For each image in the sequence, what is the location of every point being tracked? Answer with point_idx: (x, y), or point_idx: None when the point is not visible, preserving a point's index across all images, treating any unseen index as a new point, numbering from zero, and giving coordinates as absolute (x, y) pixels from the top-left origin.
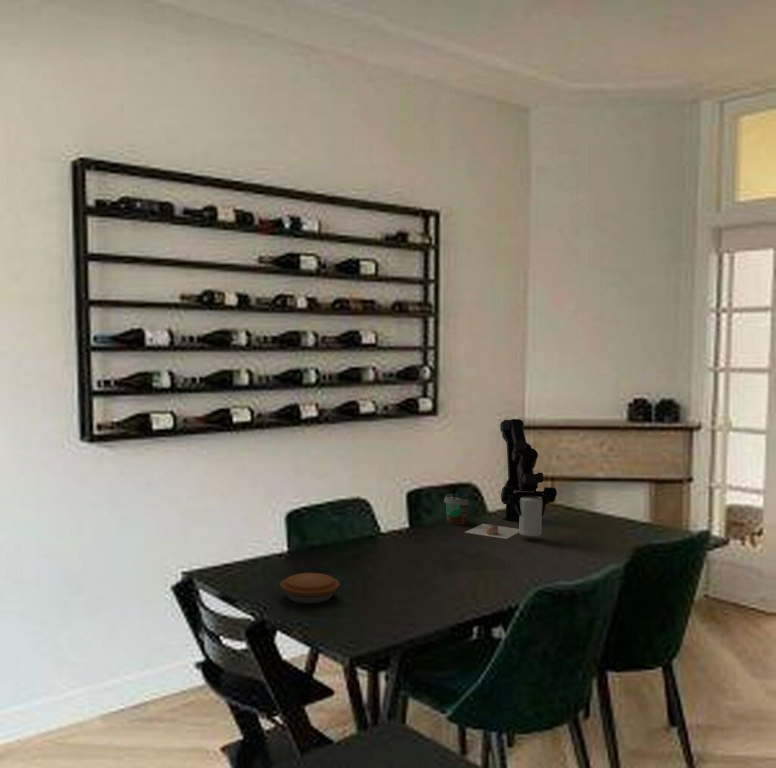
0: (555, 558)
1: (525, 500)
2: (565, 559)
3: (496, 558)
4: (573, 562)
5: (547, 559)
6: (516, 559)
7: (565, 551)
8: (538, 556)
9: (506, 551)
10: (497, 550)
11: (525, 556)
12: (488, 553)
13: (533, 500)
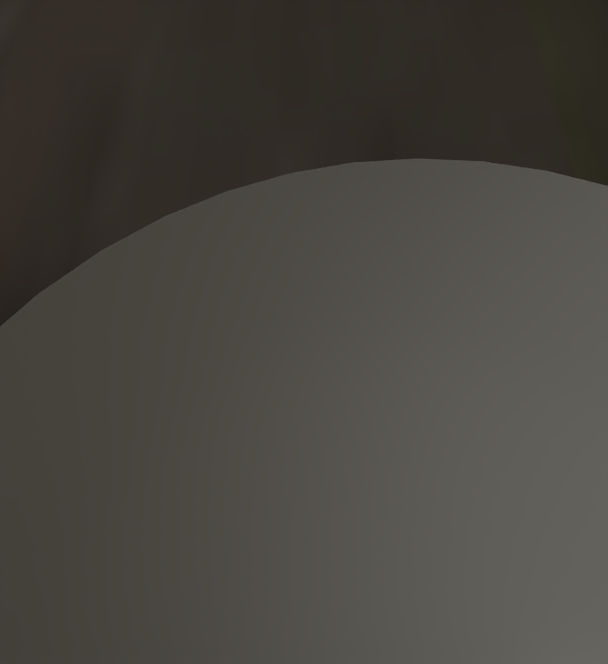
0: (150, 73)
1: None
2: (85, 65)
3: (523, 14)
4: (47, 21)
5: (207, 46)
6: (402, 17)
7: (32, 245)
8: (262, 92)
9: (492, 157)
10: (561, 167)
11: (349, 77)
12: (600, 93)
13: (334, 268)
